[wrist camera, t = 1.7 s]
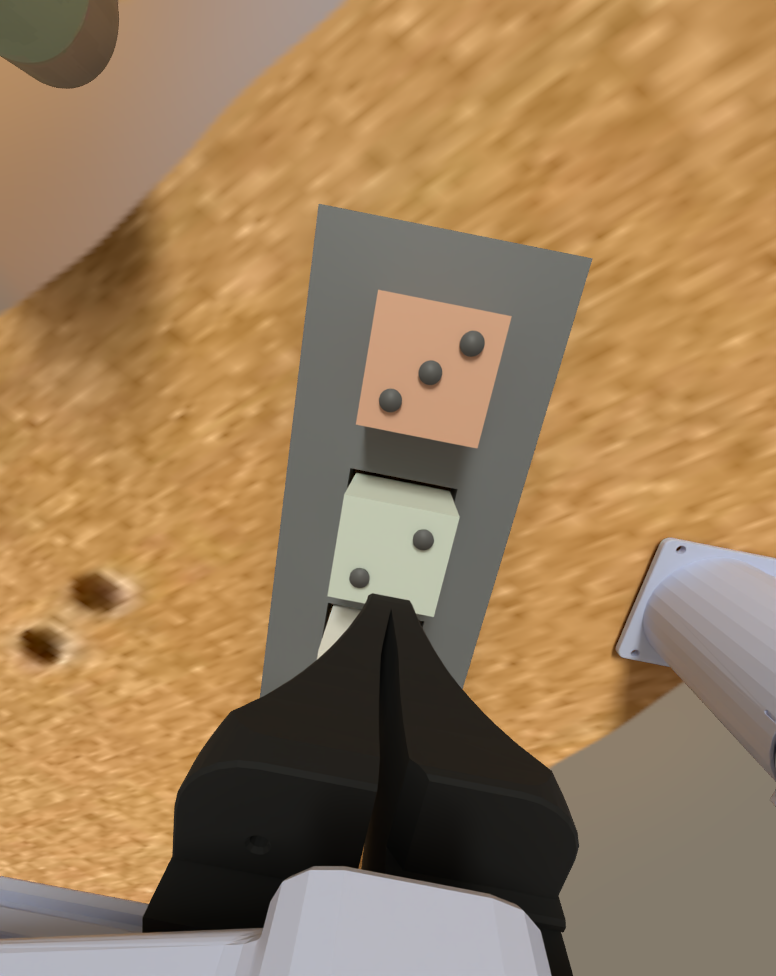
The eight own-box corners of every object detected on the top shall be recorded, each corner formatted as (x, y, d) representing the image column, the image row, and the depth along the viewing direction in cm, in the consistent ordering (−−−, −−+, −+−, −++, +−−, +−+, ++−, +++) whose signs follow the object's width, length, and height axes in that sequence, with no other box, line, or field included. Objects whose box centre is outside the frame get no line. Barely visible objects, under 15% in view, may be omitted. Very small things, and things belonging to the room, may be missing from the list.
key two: (449, 490, 20) (460, 518, 16) (429, 574, 21) (434, 619, 17) (356, 472, 20) (343, 495, 16) (341, 557, 21) (326, 598, 17)
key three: (489, 329, 18) (513, 315, 14) (463, 434, 19) (478, 449, 15) (384, 309, 18) (377, 288, 14) (366, 415, 19) (355, 424, 15)
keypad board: (573, 271, 18) (592, 258, 16) (441, 721, 26) (444, 748, 24) (328, 222, 18) (318, 203, 16) (269, 688, 26) (258, 712, 24)
